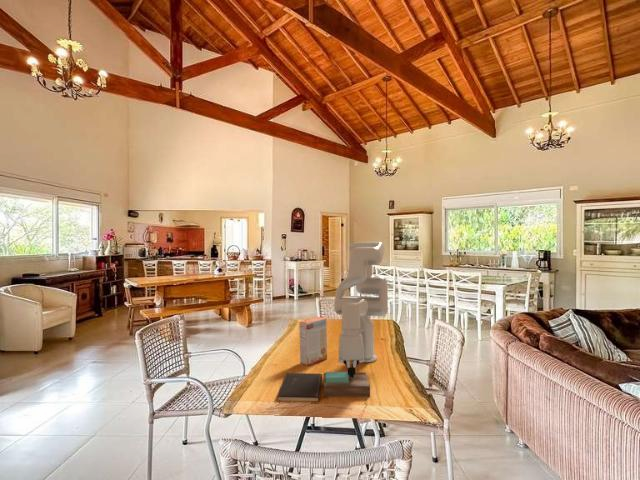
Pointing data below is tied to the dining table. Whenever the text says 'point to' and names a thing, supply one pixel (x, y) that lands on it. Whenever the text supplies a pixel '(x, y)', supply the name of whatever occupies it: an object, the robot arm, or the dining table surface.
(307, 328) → the cracker box
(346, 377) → the teal rectangular block
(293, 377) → the hardcover book
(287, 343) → the dining table surface
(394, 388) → the dining table surface
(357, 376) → the brown flat block
